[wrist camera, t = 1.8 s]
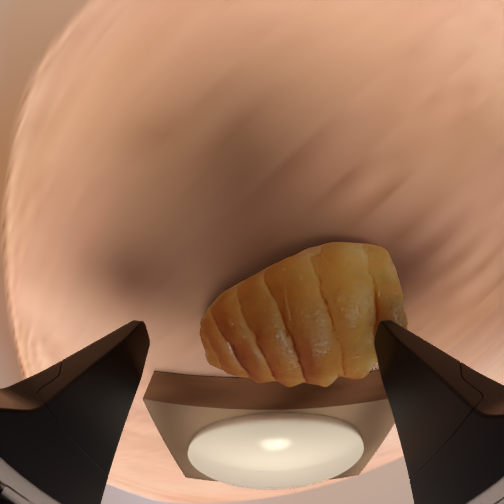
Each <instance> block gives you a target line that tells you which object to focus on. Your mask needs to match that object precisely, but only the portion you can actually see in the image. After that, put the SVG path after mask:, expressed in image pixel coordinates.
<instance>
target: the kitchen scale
mask: <svg viewBox="0 0 504 504" xmlns="http://www.w3.org/2000/svg"><path fill="white" fill-rule="evenodd" d="M143 401H144V403H145V405H146V407H147V409H148V411H149V413H150V415H151V417H152V419H153V421H154V423H155V425H156V427H157V429H158V431H159V433H160V435H161V436H162V438H163V440H164V442H165V444H166V445H167V447H168V449H169V451H170V452H171V454H172V456H173V458H174V459H175V461H176V463H177V464H178V466H179V467H180V469H181V471H182V472H183V474H184V475H185V477H187V478H194V479H201V480H210V481H220V482H223V483H226V484H229V485H233V486H238V487H243V488H251V489H263V490H278V489H291V488H298V487H304V486H308V485H313V484H316V483H320V482H323V481H326V480H330V479H337V478H344V477H350V476H356V475H359V474H360V473H361V471H362V470H363V469H364V467H365V466H366V465H367V463H368V462H369V461H370V459H371V458H372V456H373V455H374V454H375V452H376V451H377V449H378V448H379V446H380V445H381V444H382V442H383V441H384V439H385V437H386V436H387V434H388V433H389V431H390V430H391V428H392V426H393V425H394V423H395V421H394V417H393V414H392V411H391V407H390V404H389V401H388V398H387V395H386V392H385V389H384V385H383V382H382V378H381V374H380V370H379V371H372V372H369V373H368V375H367V376H366V377H364V378H362V379H349V378H346V377H337V378H336V380H335V381H334V382H333V383H332V384H330V385H329V386H327V387H322V386H320V385H315V384H309V383H305V382H304V383H300V384H298V385H295V386H293V387H286V386H285V385H283V384H281V383H279V382H277V381H271V382H264V383H257V382H254V380H252V379H250V378H224V377H207V376H194V375H183V374H173V373H164V372H156V371H154V374H153V376H152V378H151V381H150V383H149V385H148V388H147V390H146V392H145V395H144V397H143Z"/></svg>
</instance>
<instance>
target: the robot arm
mask: <svg viewBox="0 0 504 504" xmlns="http://www.w3.org/2000/svg"><path fill="white" fill-rule="evenodd" d="M149 345H150V340H149V336H148V332H147V329H146V325H145V323H144V322H143V321H135V320H134V321H131V322H130V323H128V324H126V325H124V326H122V327H121V328H119V329H117V330H115V331H114V332H112V333H110V334H108V335H107V336H105V337H103V338H101V339H99V340H98V341H96V342H94V343H92V344H91V345H89V346H87V347H85V348H83V349H82V350H80V351H78V352H76V353H75V354H73V355H71V356H69V357H67V358H66V359H64V360H62V361H60V362H58V363H57V364H55V365H53V366H51V367H49V368H48V369H46V370H44V371H42V372H40V373H38V374H36V375H33V376H31V377H29V378H27V379H25V380H22V381H20V382H18V383H16V384H14V385H11V386H10V387H6V388H3V389H0V504H101V500H102V496H103V493H104V489H105V486H106V482H107V479H108V475H109V472H110V468H111V465H112V462H113V458H114V455H115V452H116V449H117V446H118V443H119V440H120V437H121V434H122V431H123V428H124V425H125V422H126V419H127V416H128V413H129V410H130V408H131V405H132V402H133V399H134V397H135V394H136V391H137V388H138V386H139V383H140V380H141V377H142V373H143V369H144V365H145V361H146V357H147V353H148V349H149ZM374 347H375V351H376V355H377V360H378V365H379V369H380V374H381V378H382V382H383V385H384V389H385V392H386V395H387V398H388V401H389V404H390V407H391V411H392V414H393V417H394V421H395V424H396V428H397V431H398V435H399V439H400V442H401V446H402V450H403V454H404V458H405V462H406V466H407V470H408V474H409V479H410V484H411V489H412V494H413V499H414V504H504V385H502V384H500V383H498V382H496V381H494V380H492V379H490V378H488V377H486V376H484V375H482V374H480V373H478V372H476V371H475V370H473V369H471V368H470V367H468V366H466V365H465V364H463V363H460V361H458V360H456V359H455V358H453V357H451V356H450V355H448V354H447V353H445V352H443V351H442V350H440V349H438V348H437V347H435V346H433V345H432V344H430V343H428V342H427V341H425V340H423V339H422V338H420V337H418V336H417V335H415V334H413V333H412V332H410V331H408V330H407V329H405V328H403V327H402V326H400V325H398V324H396V323H395V322H393V321H391V320H384V321H380V322H379V324H378V327H377V331H376V335H375V339H374Z"/></svg>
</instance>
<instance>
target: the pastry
mask: <svg viewBox="0 0 504 504" xmlns="http://www.w3.org/2000/svg"><path fill="white" fill-rule="evenodd" d="M384 320H391V321H393V322H395V323H396V324H398V325H400V326H402V327H403V328H405V329H407V324H408V323H407V316H406V313H405V310H404V296H403V292H402V288H401V285H400V281H399V278H398V275H397V271H396V268H395V266H394V264H393V262H392V259H391V256H390V255H389V253H388V251H387V250H386V249H384V248H383V247H381V246H378V245H373V244H367V243H352V242H331V243H326V244H323V245H319V246H315V247H309V248H307V249H305V250H303V251H301V252H299V253H297V254H295V255H293V256H289V257H287V258H285V259H283V260H282V261H280V262H277V263H275V264H272V265H270V266H269V267H267V268H265V269H263V270H262V271H260V272H258V273H256V274H254V275H252V276H251V277H249V278H247V279H245V280H243V281H241V282H240V283H238V284H236V285H234V286H233V287H231V288H229V289H227V290H226V291H224V292H223V293H221V294H220V295H219V296H218V297H217V298H216V299H215V301H214V302H213V303H212V304H211V305H210V306H209V307H208V309H207V311H206V312H205V314H204V316H203V318H202V320H201V329H200V336H201V339H202V343H203V346H204V348H205V351H206V358H207V360H208V362H209V364H210V365H212V366H214V367H217V368H219V369H222V370H224V371H225V372H226V373H228V374H231V375H234V376H238V377H243V378H250V379H252V380H254V382H257V383H264V382H271V381H277V382H279V383H281V384H283V385H285V386H286V387H293V386H295V385H298V384H300V383H304V382H305V383H309V384H315V385H320V386H322V387H327V386H329V385H330V384H332V383H333V382H334V381H335V380H336V378H337V377H346V378H349V379H362V378H364V377H366V376H367V375H368V373H369V372H370V370H371V368H372V367H373V365H374V364H375V363H376V362H378V360H377V355H376V351H375V347H374V339H375V335H376V331H377V327H378V324H379V322H380V321H384Z"/></svg>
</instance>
